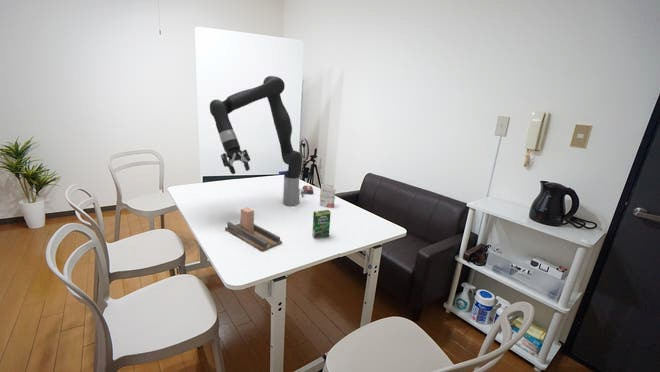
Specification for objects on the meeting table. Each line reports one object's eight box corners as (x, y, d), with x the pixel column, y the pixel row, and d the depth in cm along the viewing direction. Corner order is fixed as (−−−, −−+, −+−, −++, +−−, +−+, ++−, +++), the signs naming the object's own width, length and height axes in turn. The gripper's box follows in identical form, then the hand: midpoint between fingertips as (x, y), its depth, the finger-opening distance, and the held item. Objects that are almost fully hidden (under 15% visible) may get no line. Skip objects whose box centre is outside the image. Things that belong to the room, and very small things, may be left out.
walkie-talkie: (300, 188, 212) (301, 197, 193) (300, 183, 211) (301, 191, 192) (312, 189, 214) (314, 198, 195) (312, 183, 212) (314, 192, 193)
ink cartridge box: (334, 205, 184) (336, 183, 179) (332, 208, 179) (334, 185, 175) (321, 203, 185) (323, 181, 181) (319, 206, 181) (320, 183, 176)
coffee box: (313, 238, 138) (315, 213, 134) (311, 236, 140) (313, 210, 137) (329, 236, 141) (331, 211, 138) (326, 234, 144) (329, 209, 140)
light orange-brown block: (247, 228, 140) (247, 207, 137) (253, 232, 137) (253, 210, 134) (240, 230, 137) (240, 209, 134) (247, 234, 134) (247, 212, 131)
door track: (244, 223, 147) (244, 217, 146) (282, 243, 131) (282, 236, 130) (225, 229, 139) (224, 223, 138) (262, 251, 123) (262, 244, 122)
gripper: (221, 139, 134) (233, 172, 134) (245, 136, 145) (256, 167, 146) (212, 145, 138) (224, 177, 139) (237, 141, 150) (248, 171, 150)
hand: (241, 172), depth 142 cm, fingers open, 8 cm apart
